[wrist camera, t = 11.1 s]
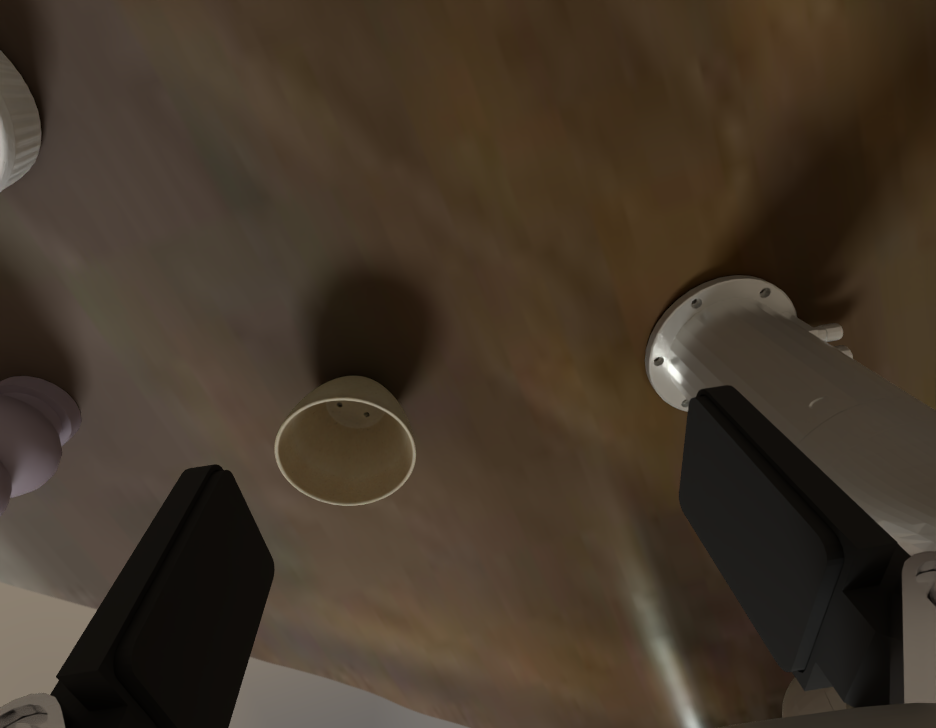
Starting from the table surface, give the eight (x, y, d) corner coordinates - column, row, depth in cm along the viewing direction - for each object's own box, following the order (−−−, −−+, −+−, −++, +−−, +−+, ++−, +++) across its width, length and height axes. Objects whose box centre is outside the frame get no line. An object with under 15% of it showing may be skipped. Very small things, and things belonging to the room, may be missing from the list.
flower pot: (275, 366, 40) (249, 418, 34) (395, 335, 39) (391, 382, 33) (322, 459, 45) (307, 519, 39) (429, 432, 44) (431, 489, 38)
